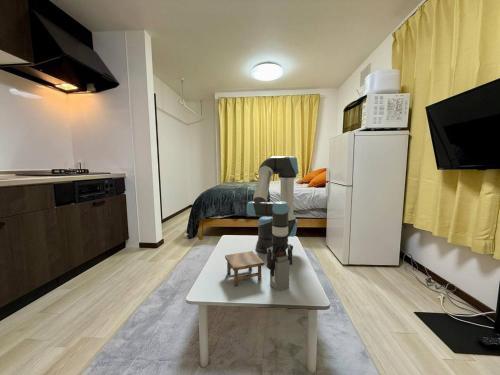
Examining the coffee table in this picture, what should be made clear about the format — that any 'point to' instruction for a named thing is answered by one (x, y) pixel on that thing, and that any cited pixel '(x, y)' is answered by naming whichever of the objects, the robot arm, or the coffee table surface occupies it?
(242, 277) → the stool
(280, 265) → the perfume bottle
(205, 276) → the coffee table surface
